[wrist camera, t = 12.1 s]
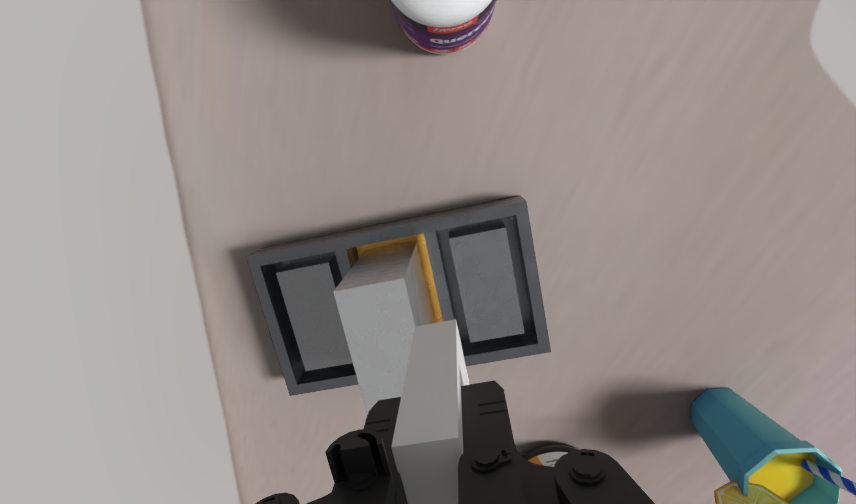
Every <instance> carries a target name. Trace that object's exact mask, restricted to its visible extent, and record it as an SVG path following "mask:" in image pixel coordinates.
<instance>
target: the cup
mask: <svg viewBox="0 0 856 504" xmlns="http://www.w3.org/2000/svg"><path fill="white" fill-rule="evenodd" d="M691 422H692V423H693V425H694V426H695V428H696V429H697V431H698V432H699V434H700V435H701V437H702V438H703V440H704V441H705V443H706V444H707V446H708V448H709V449H710V451H711V452H712V454H713V455H714V457H715V458H716V460H717V461H718V463H719V464H720V466H721V467H722V469H723V470H724V472H725V473H726V475H727V477H728V478H729V480H730V481H731V482H729V483H727V484H725V485H724V486H722V487H720V488H718V489H717V490H715V491H714V492H715V502H716V504H837V503H838V500H839V492H840V488H842V489H844V490H846V491H848V492H850V493H852V494H854V495H856V483H854V482H852V481H850V480H848V479H846V478H844V477H842V469H841V468H840V467H839V466H837V465H836V464H835V463H834V462H833V461H832V460H830V459H829V458H828V457H827V456H826V455H824V454H823V453H822V452H821V451H820V450H818V449H817V448H816V447H814V446H813V445H811V444H810V443H808V442H807V441H800V440H799V439H798V438H796V437H795V436H793V435H792V434H791V433H789V432H788V431H787V430H785V429H784V428H783V427H781V426H780V425H779V424H777V423H776V422H774V421H773V420H772V419H770V418H769V417H768V416H766V415H765V414H764V413H762V412H761V411H759V410H758V409H757V408H755V407H754V406H753V405H751V404H750V403H749V402H747V401H746V400H745V399H743V398H742V397H740V396H739V395H738V394H736V393H735V392H734V391H732V390H731V389H730V388H717V389H707V390H706V391H704V392H703V393H702V394H701V395H700V396H699V397H698V398H697V399H696V400H694V401H693V402H692V406H691Z"/></svg>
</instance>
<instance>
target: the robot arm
mask: <svg viewBox="0 0 856 504" xmlns="http://www.w3.org/2000/svg"><path fill="white" fill-rule="evenodd" d="M325 453H326V456H327V459H328V463H329V466H330V469H331V473H332V476H333V479H334V483H335V484H334V487H333V490H332V492H331V493H330V494H328V495H326V496H324V497H322V498H320V499H317V500H315V501H312V502H309V503H307V504H655V503H654V502H653V501H652V500H651V499H650V498H649V497H648V496H647V494H646V493H645V492H644V491H643V490H642V489H641V488H640V487H639V486H638V485H637V483H636V482H635V481H634V480H633V479H632V478H631V477H630V476H629V475H628V473H627V472H626V471H625V470H624V469H623V468H622V467H621V466H620V465H619V463H618V462H617V461H615V460H614V459H613V458H611V457H610V456H609V455H607V454H605V453H602V452H599V451H597V450H587V449H581V450H575V451H570V452H569V453H567V454H565V455H563V456H561V457H560V458H559V459H558V461H557V462H556V463H555V466H554V467H552V466H544V465H539V464H535V463H532V462H530V461H528V460H526V459H525V458H523V457H522V456H521V455H520V454H519V453H518V452H517V450H516V447H515V444H514V439H513V434H512V429H511V424H510V419H509V414H508V409H507V404H506V399H505V394H504V389H503V388H502V387H501V386H500V385H499V384H497V383H496V382H495V381H489V382H483V383H477V384H469V379H468V375H467V370H466V365H465V360H464V355H463V350H462V346H461V341H460V336H459V331H458V326H457V321H456V319H455V320H449V321H443V322H437V323H432V324H426V325H420V326H415V329H414V334H413V339H412V344H411V349H410V355H409V360H408V365H407V370H406V375H405V380H404V385H403V390H402V395H401V397H396V398H390V399H384V400H378V401H377V403H376V404H375V405H374V406H373V407H372V408H371V409H370V411H369V412H368V415H367V419H366V422H365V425H364V429H363V430H356V431H353V432H349V433H347V434H345V435H343V436H341V437H339V438H338V439H337V440H335V441H334V442H333V443H332V444H331V445H330V446H329V448H328V449H327V451H326V452H325ZM256 504H299V501H298V499H297V498H296V497H295V496H294V495H292V494H288V493H279V494H274V495H271V496H269V497H266V498H264V499H262V500H260V501H259V502H257V503H256Z"/></svg>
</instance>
